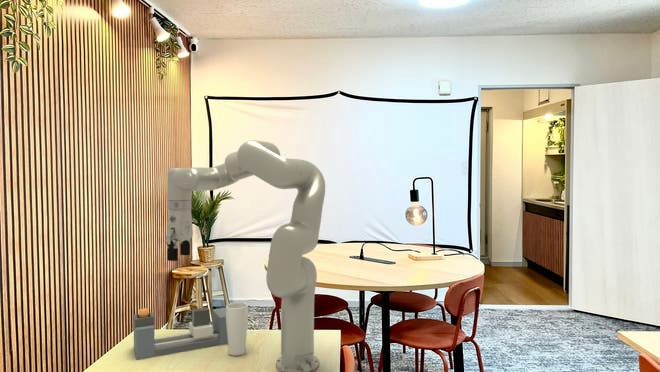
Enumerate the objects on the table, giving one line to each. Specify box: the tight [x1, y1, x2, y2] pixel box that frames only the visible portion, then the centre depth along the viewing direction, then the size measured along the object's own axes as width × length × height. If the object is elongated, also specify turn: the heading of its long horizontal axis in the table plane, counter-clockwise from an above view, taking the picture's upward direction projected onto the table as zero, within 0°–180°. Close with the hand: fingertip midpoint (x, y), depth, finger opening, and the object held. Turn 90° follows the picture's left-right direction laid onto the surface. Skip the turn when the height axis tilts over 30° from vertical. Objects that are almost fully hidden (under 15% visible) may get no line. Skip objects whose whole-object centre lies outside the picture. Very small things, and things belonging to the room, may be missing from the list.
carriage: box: [188, 306, 213, 339], centre depth 148 cm, size 6×8×8 cm
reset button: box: [138, 307, 150, 318], centre depth 140 cm, size 3×3×3 cm
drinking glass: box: [225, 302, 249, 357], centre depth 140 cm, size 7×7×15 cm
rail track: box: [133, 307, 228, 361], centre depth 146 cm, size 30×10×12 cm, turn 118°
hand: (179, 257), depth 147 cm, fingers open, 9 cm apart
